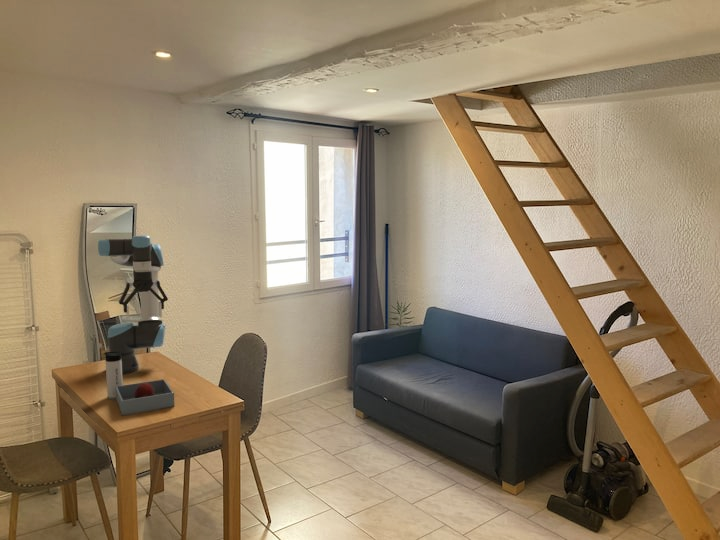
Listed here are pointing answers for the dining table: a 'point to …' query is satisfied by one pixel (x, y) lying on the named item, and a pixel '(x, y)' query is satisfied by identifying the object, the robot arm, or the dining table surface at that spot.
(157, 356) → the dining table surface
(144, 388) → the apple
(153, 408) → the tub
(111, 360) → the travel mug
